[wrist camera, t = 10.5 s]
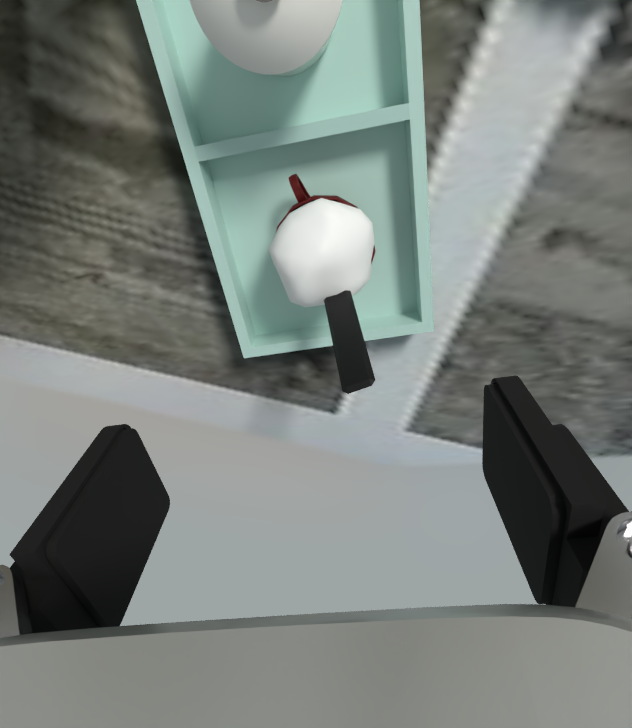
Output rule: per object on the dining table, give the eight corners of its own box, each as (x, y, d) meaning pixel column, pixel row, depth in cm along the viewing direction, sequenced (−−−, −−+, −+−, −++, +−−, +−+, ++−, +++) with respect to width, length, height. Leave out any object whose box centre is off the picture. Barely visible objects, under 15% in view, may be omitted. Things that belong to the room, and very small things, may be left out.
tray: (398, -188, 20) (408, -233, 18) (426, 314, 33) (434, 331, 30) (122, -110, 22) (93, -140, 19) (250, 340, 35) (243, 358, 32)
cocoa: (277, 171, 28) (232, 191, 17) (375, 168, 27) (391, 188, 17) (285, 309, 32) (254, 394, 21) (370, 309, 32) (380, 396, 21)
